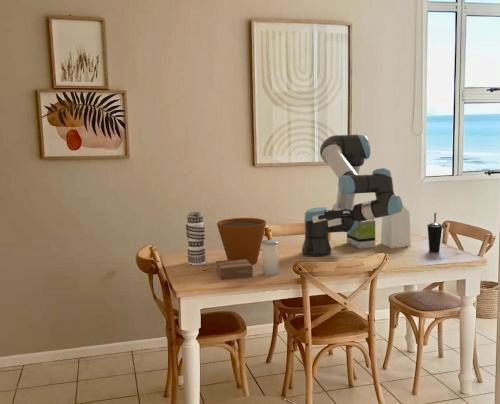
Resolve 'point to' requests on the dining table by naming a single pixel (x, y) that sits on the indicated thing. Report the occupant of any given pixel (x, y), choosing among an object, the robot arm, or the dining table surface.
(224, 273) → the pedestal
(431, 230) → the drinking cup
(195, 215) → the striped cylindrical tower
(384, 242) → the milk
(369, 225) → the tea box
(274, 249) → the glass jar
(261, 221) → the flower pot
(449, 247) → the dining table surface
